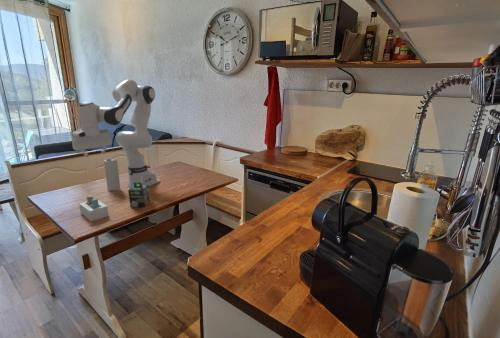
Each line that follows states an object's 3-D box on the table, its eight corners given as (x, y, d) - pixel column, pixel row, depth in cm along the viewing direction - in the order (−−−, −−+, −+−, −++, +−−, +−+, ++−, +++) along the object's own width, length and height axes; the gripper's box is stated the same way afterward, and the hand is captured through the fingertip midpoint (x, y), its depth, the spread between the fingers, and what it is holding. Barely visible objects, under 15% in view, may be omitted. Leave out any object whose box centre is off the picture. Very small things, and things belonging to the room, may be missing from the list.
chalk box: (150, 201, 168) (148, 179, 164) (145, 207, 160) (143, 184, 155) (135, 201, 168) (133, 179, 163) (129, 207, 159) (127, 184, 155)
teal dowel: (98, 214, 149) (96, 198, 146) (101, 216, 148) (98, 199, 145) (93, 216, 147) (90, 199, 144) (95, 218, 145) (92, 201, 142)
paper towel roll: (105, 189, 183) (101, 160, 177) (113, 187, 188) (110, 158, 182) (112, 192, 180) (108, 161, 174) (120, 189, 185) (117, 159, 179)
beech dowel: (93, 211, 153) (91, 195, 150) (96, 212, 151) (93, 196, 148) (88, 212, 151) (85, 196, 148) (90, 214, 149) (87, 198, 146)
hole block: (97, 208, 157) (96, 198, 155) (108, 215, 148) (107, 205, 147) (80, 213, 150) (79, 203, 148) (91, 221, 142) (89, 211, 140)
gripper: (107, 128, 159) (110, 150, 164) (68, 133, 144) (73, 157, 149) (112, 129, 156) (115, 152, 160) (73, 135, 140) (78, 159, 145)
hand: (95, 154), depth 154 cm, fingers open, 8 cm apart
